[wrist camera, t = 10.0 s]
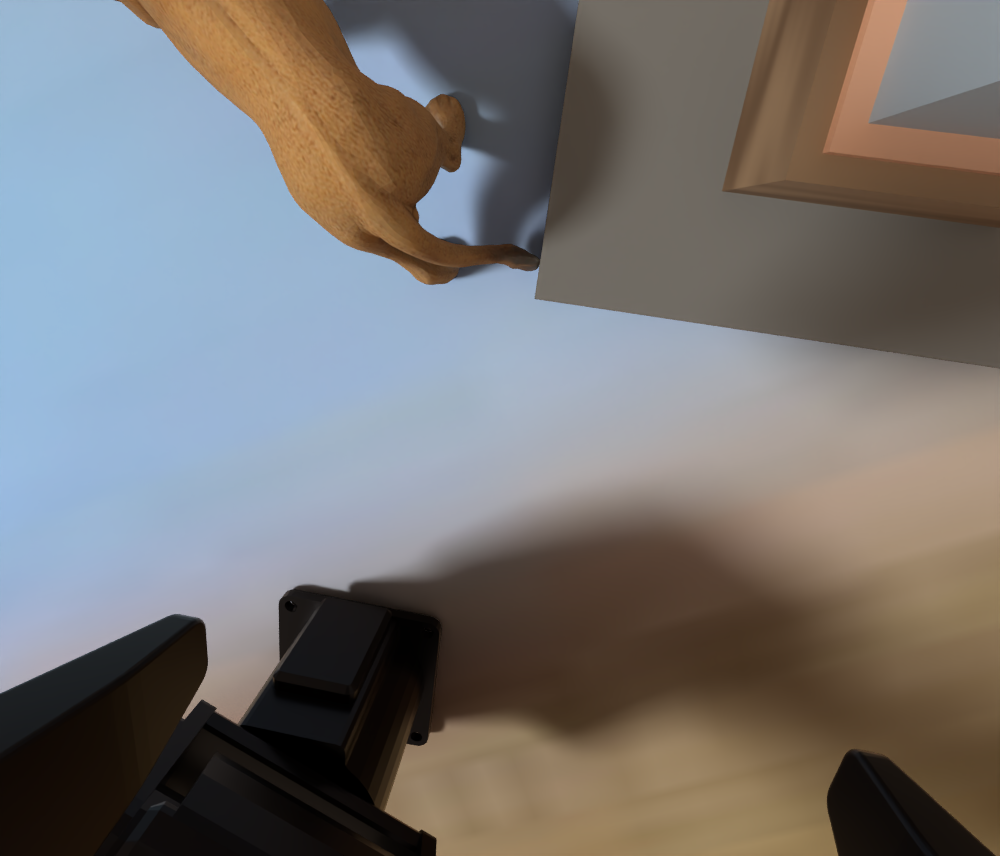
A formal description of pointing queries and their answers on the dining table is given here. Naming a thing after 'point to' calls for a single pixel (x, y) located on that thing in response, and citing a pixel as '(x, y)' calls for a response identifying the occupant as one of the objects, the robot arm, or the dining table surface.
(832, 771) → the dining table surface
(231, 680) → the dining table surface
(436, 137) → the lion figurine
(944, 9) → the slate-gray cube
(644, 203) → the tower base
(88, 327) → the dining table surface
